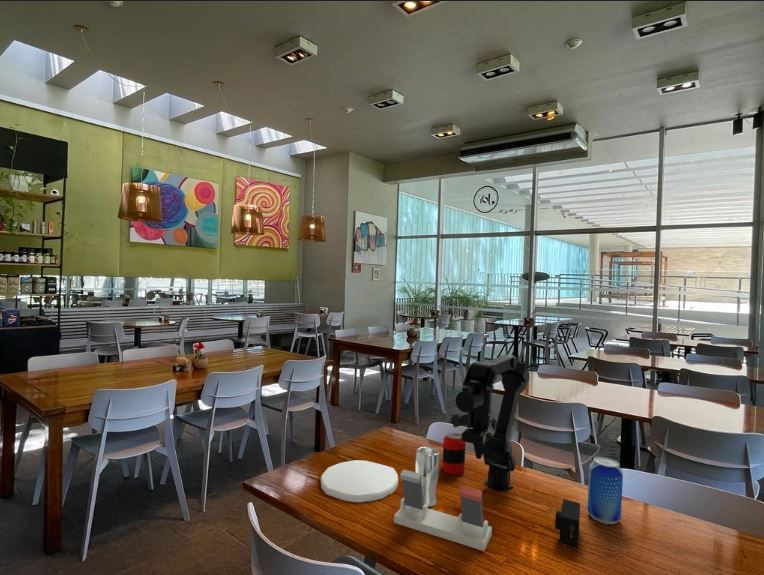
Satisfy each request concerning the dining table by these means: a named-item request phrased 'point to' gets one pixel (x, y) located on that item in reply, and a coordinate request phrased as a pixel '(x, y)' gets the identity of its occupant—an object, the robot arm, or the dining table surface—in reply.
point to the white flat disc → (359, 481)
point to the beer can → (605, 490)
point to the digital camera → (568, 523)
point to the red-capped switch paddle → (471, 506)
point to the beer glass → (428, 472)
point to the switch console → (444, 526)
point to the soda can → (453, 454)
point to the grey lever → (412, 489)
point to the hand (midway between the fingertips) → (478, 458)
